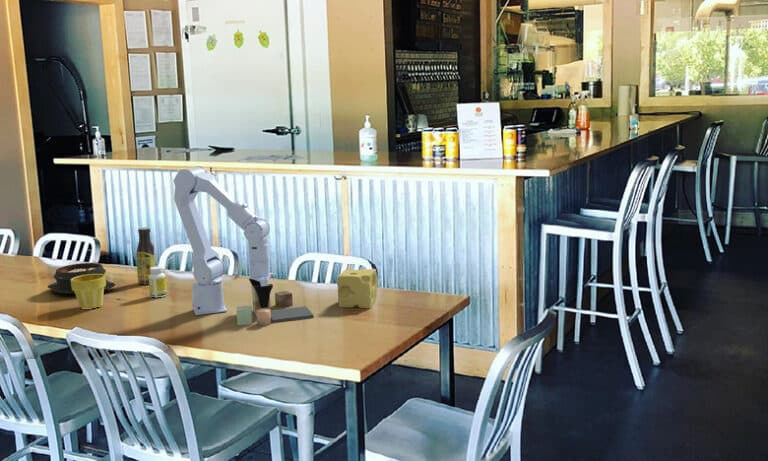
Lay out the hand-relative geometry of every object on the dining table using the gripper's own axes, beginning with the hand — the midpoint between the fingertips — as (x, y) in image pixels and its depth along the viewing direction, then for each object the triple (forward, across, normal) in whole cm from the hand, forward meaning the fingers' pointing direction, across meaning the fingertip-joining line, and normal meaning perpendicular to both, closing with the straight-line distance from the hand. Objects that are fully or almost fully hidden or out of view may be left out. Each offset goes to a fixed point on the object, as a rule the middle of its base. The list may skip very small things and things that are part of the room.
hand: (262, 304), depth 237 cm
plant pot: (+3, +30, +50) cm, 58 cm away
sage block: (+3, -8, +6) cm, 11 cm away
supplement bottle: (+3, +34, +29) cm, 45 cm away
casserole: (+3, +54, +54) cm, 76 cm away
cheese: (+3, -3, -29) cm, 29 cm away
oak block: (+3, 0, 0) cm, 3 cm away
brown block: (+3, -12, +2) cm, 12 cm away
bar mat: (+3, -7, -7) cm, 10 cm away
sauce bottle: (+3, +55, +32) cm, 64 cm away
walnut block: (+3, +5, -8) cm, 9 cm away
